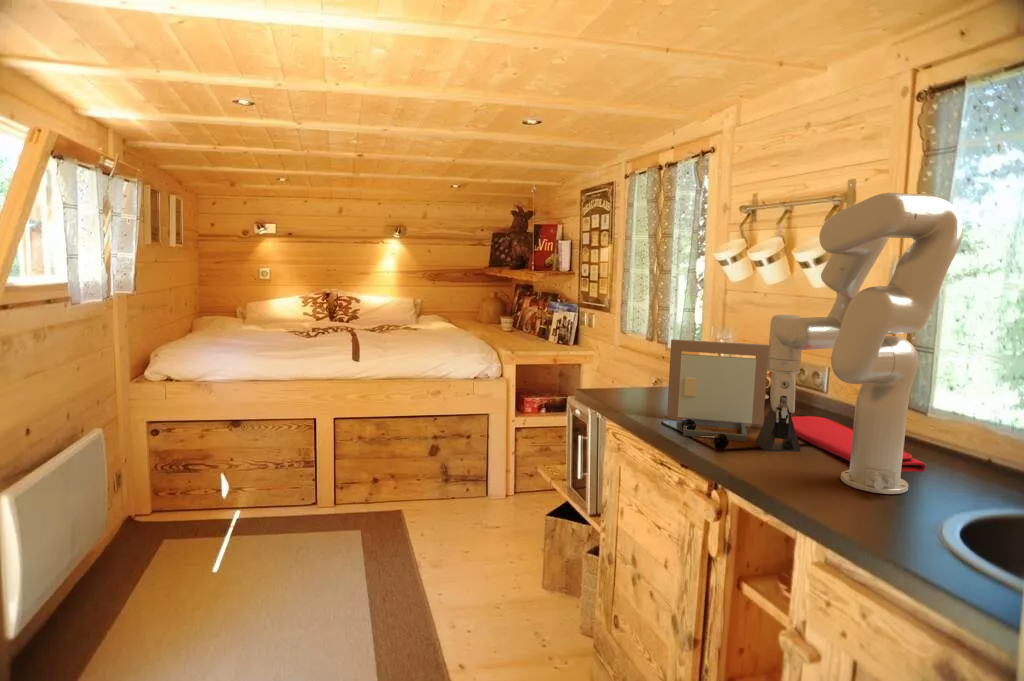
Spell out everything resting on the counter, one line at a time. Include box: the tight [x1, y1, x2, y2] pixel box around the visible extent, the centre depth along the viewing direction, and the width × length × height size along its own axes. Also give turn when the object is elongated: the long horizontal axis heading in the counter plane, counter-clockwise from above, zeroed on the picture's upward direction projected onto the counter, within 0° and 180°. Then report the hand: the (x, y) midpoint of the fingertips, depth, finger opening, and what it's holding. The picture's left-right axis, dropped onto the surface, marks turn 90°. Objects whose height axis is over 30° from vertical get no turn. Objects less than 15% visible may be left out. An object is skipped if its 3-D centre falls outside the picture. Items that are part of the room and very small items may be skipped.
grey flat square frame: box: [682, 418, 748, 442], centre depth 182 cm, size 14×16×2 cm
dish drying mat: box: [791, 415, 927, 473], centre depth 171 cm, size 16×41×4 cm, turn 6°
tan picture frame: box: [666, 338, 769, 429], centre depth 191 cm, size 4×26×23 cm, turn 74°
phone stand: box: [754, 400, 801, 452], centre depth 168 cm, size 9×6×12 cm, turn 91°
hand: (778, 433), depth 168 cm, fingers open, 9 cm apart
